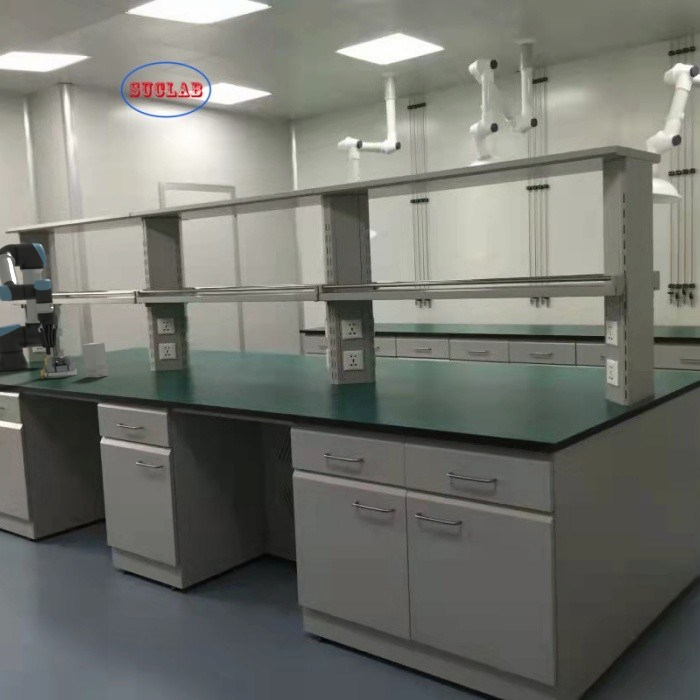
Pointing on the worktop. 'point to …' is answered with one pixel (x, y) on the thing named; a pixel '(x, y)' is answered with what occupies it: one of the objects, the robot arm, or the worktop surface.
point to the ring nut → (52, 367)
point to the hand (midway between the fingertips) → (50, 361)
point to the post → (42, 374)
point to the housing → (60, 362)
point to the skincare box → (95, 360)
